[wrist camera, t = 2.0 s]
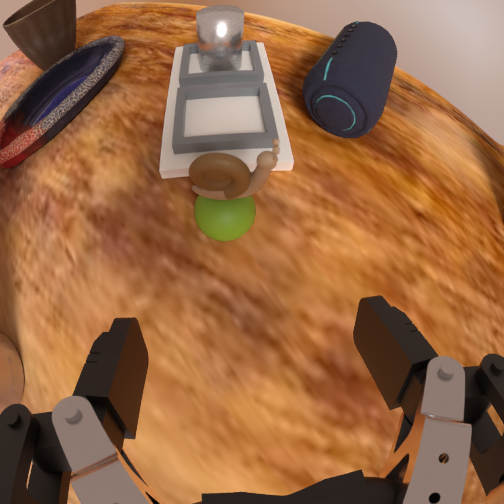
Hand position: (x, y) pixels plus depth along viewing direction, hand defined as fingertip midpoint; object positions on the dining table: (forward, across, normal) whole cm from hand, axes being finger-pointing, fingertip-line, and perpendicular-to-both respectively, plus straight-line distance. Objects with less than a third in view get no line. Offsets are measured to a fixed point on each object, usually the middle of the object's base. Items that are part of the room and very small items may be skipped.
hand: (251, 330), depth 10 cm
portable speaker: (+34, -18, -12) cm, 40 cm away
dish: (+36, +26, -14) cm, 47 cm away
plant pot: (+48, +33, -26) cm, 64 cm away
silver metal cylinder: (+36, 0, -16) cm, 39 cm away
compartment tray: (+32, 0, -11) cm, 34 cm away
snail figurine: (+19, 0, +3) cm, 20 cm away
